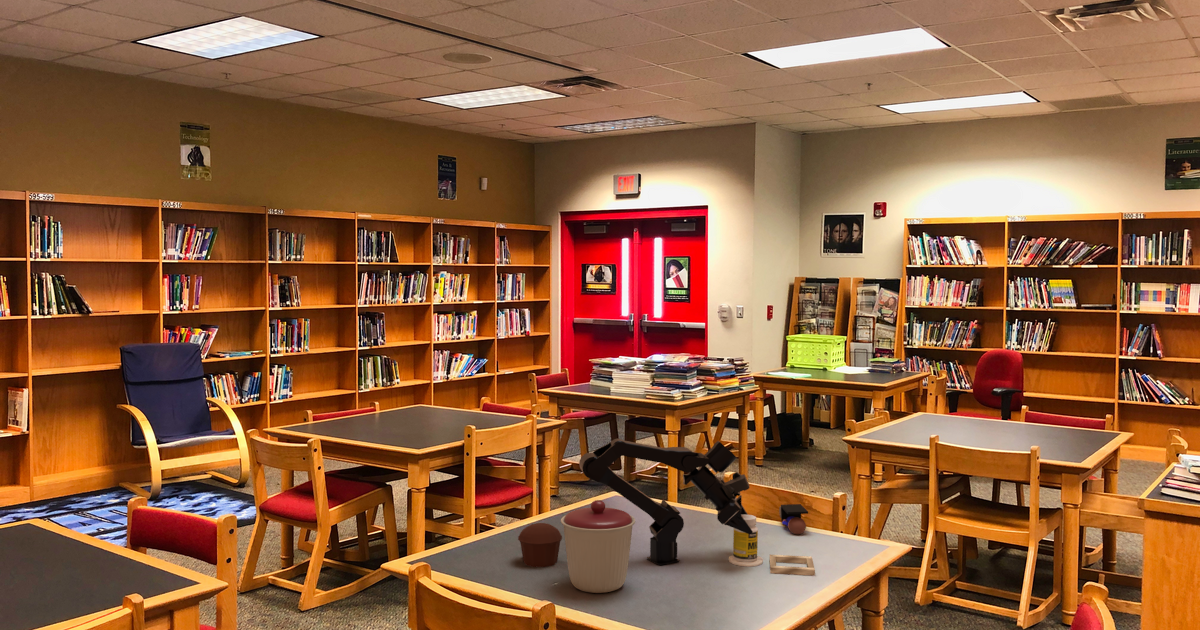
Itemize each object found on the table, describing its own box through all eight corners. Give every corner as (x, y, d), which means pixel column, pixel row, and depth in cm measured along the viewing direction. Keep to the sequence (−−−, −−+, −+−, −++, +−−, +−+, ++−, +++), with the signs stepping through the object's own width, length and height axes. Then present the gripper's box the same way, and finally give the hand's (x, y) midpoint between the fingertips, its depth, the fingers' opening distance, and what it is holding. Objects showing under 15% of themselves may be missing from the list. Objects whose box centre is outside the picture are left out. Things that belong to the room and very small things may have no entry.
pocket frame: (770, 573, 231) (770, 567, 231) (769, 560, 242) (769, 554, 242) (814, 575, 229) (814, 569, 229) (811, 562, 240) (811, 556, 240)
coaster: (743, 568, 235) (743, 566, 235) (721, 559, 242) (721, 557, 242) (770, 563, 239) (770, 561, 239) (748, 554, 247) (748, 552, 247)
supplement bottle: (750, 564, 236) (750, 521, 236) (728, 559, 240) (729, 517, 240) (761, 558, 241) (762, 516, 241) (740, 553, 245) (740, 512, 245)
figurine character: (777, 527, 280) (787, 535, 264) (776, 502, 280) (786, 509, 265) (799, 527, 280) (810, 535, 264) (798, 502, 280) (810, 509, 265)
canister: (593, 569, 234) (593, 488, 233) (649, 584, 222) (650, 499, 221) (545, 588, 220) (545, 501, 219) (603, 605, 208) (603, 514, 207)
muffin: (556, 554, 247) (556, 517, 246) (567, 566, 236) (567, 528, 236) (513, 558, 243) (513, 521, 243) (522, 570, 233) (522, 532, 232)
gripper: (730, 472, 231) (774, 517, 230) (732, 458, 250) (772, 499, 248) (699, 501, 233) (742, 546, 231) (703, 485, 251) (743, 526, 250)
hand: (751, 528), depth 240 cm, fingers open, 9 cm apart
